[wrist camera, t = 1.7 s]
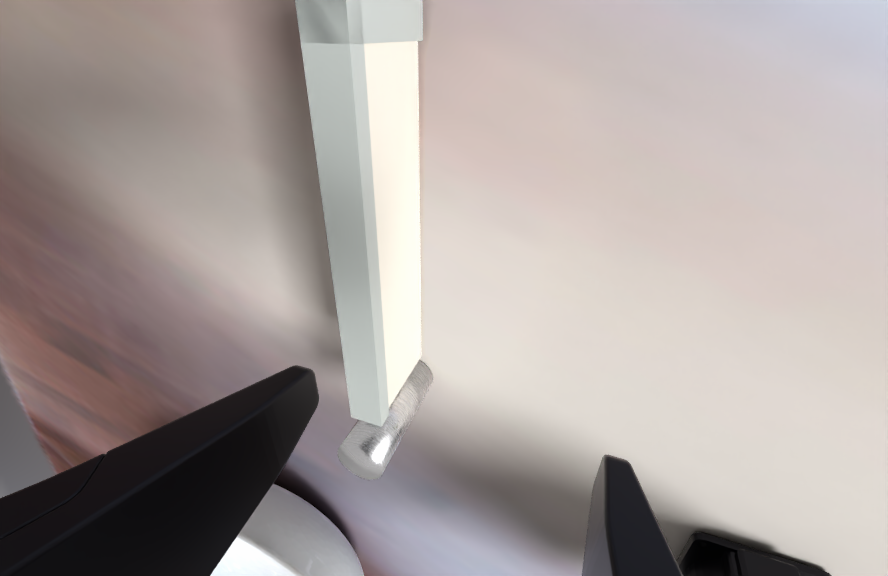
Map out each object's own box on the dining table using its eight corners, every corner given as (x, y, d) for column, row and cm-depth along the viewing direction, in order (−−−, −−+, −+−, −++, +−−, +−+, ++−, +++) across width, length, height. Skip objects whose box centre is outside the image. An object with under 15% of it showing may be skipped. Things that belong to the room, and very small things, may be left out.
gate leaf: (424, 356, 24) (381, 426, 20) (398, 350, 25) (351, 417, 20) (422, -12, 15) (343, -28, 11) (382, -11, 16) (291, -27, 11)
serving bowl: (301, 586, 49) (260, 656, 44) (172, 459, 44) (107, 520, 39) (436, 588, 38) (404, 683, 33) (284, 418, 33) (215, 496, 28)
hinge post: (433, 393, 26) (384, 486, 21) (396, 383, 27) (340, 470, 21) (433, 363, 25) (381, 453, 19) (395, 353, 25) (334, 437, 20)
